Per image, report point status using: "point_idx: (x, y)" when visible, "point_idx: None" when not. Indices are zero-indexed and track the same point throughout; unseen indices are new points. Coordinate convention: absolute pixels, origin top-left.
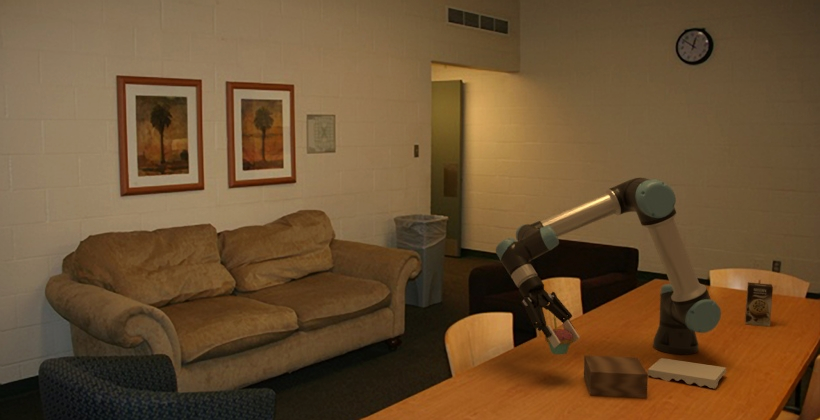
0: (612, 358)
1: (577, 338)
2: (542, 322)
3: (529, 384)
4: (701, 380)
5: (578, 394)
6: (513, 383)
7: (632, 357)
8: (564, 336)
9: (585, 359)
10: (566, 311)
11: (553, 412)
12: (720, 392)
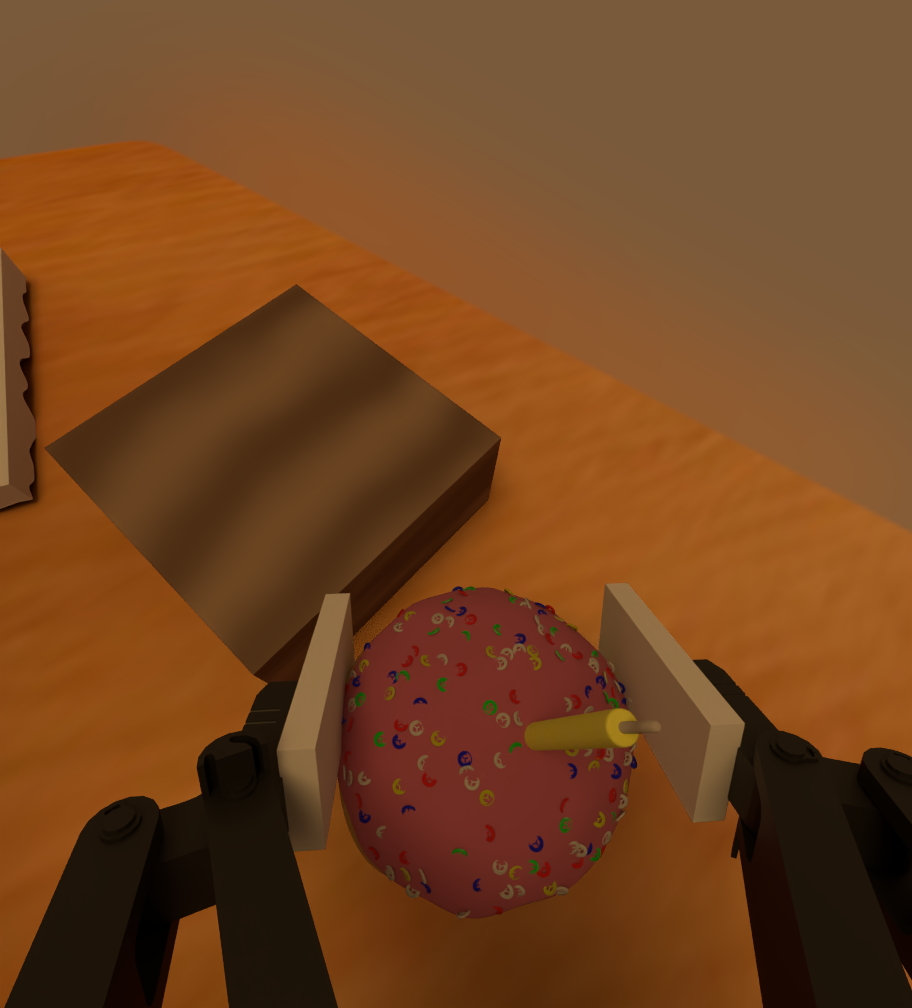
0: (174, 519)
1: (349, 607)
2: (828, 782)
3: (657, 799)
4: (9, 295)
5: (524, 536)
6: (740, 879)
7: (62, 464)
8: (525, 609)
9: (307, 628)
10: (112, 918)
11: (759, 462)
12: (44, 264)
